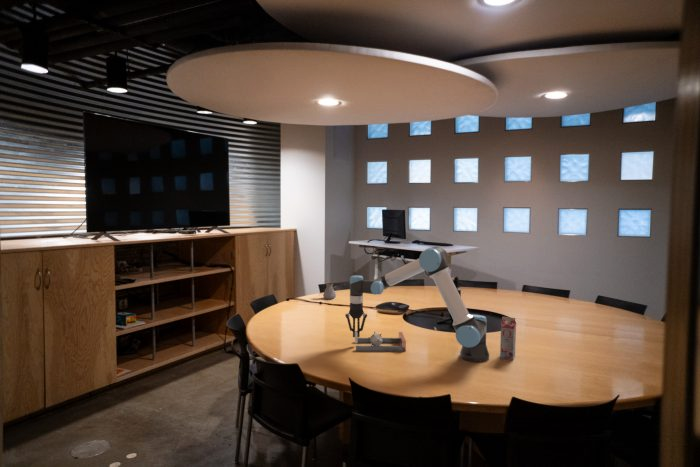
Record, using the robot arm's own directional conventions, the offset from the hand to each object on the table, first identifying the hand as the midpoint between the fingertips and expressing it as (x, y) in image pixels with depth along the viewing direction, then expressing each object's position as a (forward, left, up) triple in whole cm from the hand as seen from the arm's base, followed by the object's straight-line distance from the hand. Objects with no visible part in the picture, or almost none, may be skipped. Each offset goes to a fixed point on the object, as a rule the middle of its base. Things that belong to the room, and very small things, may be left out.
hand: (356, 342), depth 255 cm
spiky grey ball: (0, -12, -3) cm, 12 cm away
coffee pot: (+129, +16, -3) cm, 130 cm away
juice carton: (-18, -82, -3) cm, 84 cm away
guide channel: (0, -14, -2) cm, 14 cm away
